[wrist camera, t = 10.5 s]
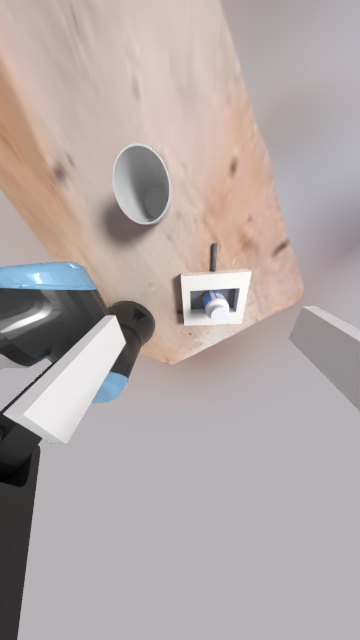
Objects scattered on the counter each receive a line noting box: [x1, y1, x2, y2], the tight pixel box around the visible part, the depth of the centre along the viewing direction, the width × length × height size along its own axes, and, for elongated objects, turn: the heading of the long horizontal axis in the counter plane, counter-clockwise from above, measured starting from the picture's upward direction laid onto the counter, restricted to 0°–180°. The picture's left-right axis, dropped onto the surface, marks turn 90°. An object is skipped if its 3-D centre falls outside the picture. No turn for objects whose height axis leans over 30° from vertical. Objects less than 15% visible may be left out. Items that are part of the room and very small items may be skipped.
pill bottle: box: [203, 290, 230, 324], centre depth 33 cm, size 6×5×10 cm
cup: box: [112, 143, 172, 224], centre depth 23 cm, size 8×8×10 cm
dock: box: [181, 243, 252, 326], centre depth 34 cm, size 16×20×3 cm
